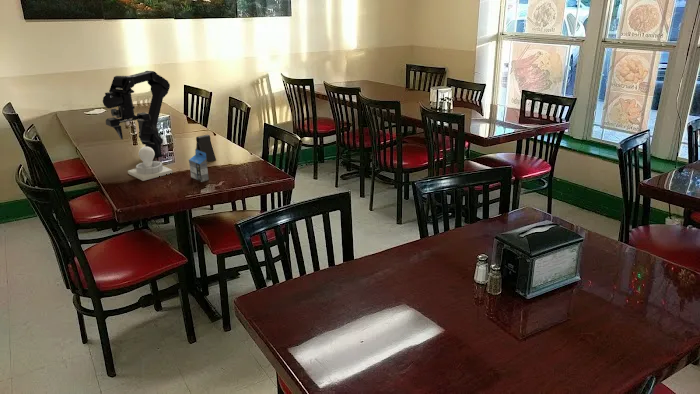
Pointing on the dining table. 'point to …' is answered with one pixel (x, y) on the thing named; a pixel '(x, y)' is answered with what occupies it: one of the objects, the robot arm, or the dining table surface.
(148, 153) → the light bulb
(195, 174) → the retail box
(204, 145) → the phone stand
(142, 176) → the socket base
